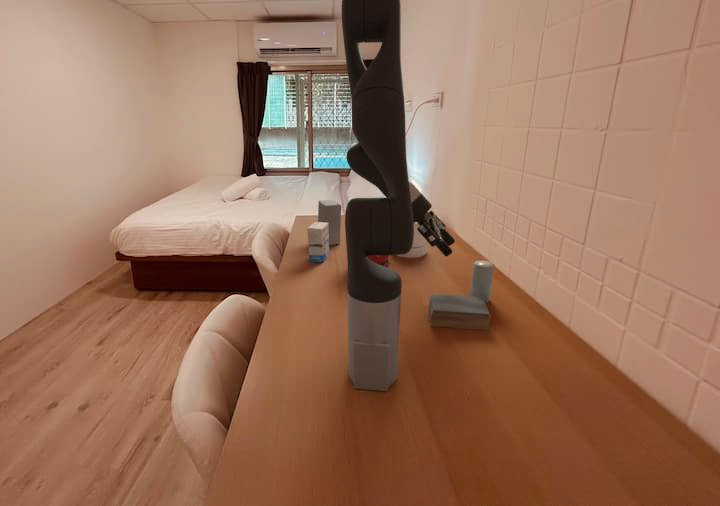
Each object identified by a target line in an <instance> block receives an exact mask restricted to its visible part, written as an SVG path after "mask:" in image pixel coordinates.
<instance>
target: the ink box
mask: <svg viewBox="0 0 720 506" xmlns="http://www.w3.org/2000/svg"><path fill="white" fill-rule="evenodd" d="M307 242H308V243H307V244H308V258H309V259H308V261H309V263H320V264H321V263H324V262H325V261H326V260H327V258H328V257H329V256H330V246H329V231H328V223H324V222H318V221H314V222H312V224H311V225H309V226H308V227H307Z"/></svg>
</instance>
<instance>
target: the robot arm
mask: <svg viewBox="0 0 720 506" xmlns="http://www.w3.org/2000/svg"><path fill="white" fill-rule="evenodd" d="M401 6H402V5H401V0H341V25H342V26H341V28H342V36H343V37H342V38H343V46H344V55H345V63H346V69H347V70H346V71H347V75H348V76H347V77H348V82H349V90H350V103H351V108H350V109H351V130H352V132H353V134H354V137H355V138H356V140H357V142H356V144H354V145H353V146H352V147H350V148H349V149H348V150H347V152H346V162H347V164H348V166H349V168H350V170H352V171H353V172H354V173H355V174H357V176H360V177H361V178H362V179H364V180H365V181H367V182H369V183H370V184H372V185H373V186H375V187H376V188H377V189H378V190H379V191H380V192H381V193H382V194H383V196H384V197H356V198H355V197H354V198H351V199H350V200H349V201H348V203H347V204H346V208H345V211H344V212H345V213H344V226H345V227H344V229H345V230H344V231H345V243H346V259H347V357H348V367H347V368H348V377H349V380H350V381H351V382H352V388H353V389H356V390H357V389H358V390H368V391H377V392H379V391H380V392H389V388H390V387H391V386H392V385H393V384H394V383H395V382H396V381H397V379H398V374H399V373H398V371H399V355H400V353H399V352H400V351H399V350H400V349H399V348H400V347H399V346H400V329H401V326H400V325H401V305H402V286H403V285H402V283H403V282H402V277H401V275H400V274H399V273H398V271H395V270H394V269H392V268H390V267H385V266H382V265H379V264H377V263H375V262H373V261H371V260H370V259H368V258H367V257H366V256H367V255H389V256H396V255H402V254H406V253H408V252H409V251H410V250H411V248H412V244H413V238H414V223H415V222H417V223H418V224H419V227H418V228H417V230H418V231H419V232H420V234H421V235H422V236H423V237H424V238H425V239H426V240H427V244H429V245H430V247H432V248H434V247H436V248H437V250H439V251H440V252H441V253H442V255H443V256H444V257H449V256H450V255H451V254H452V253H453V249H452V248H451V246H452V245H453V244H455V242H456V240H455V239H454V238H453V236H452V235H451V234H450V232H448V231H447V228H446V224H445V223H444V222H443V221H442V220H441V219H440V218H439V217H438V215H436V213H435V212H434V211H433V210H431V209H432V205H433V204H432V203H431V202H430V201H429V200H428V199H427V198H426V196H424V195H423V193H422V192H421V191H420V190H419V189H418V188H417V187H416V185H414V183H412V182H411V181H409V173H408V164H407V163H408V162H407V161H408V160H407V145H406V144H407V139H406V138H407V137H406V136H407V135H406V133H407V132H406V108H405V95H404V94H405V93H404V84H403V73H402V55H401V53H402V47H401V46H402V45H401V44H402V8H401ZM360 43H361V44H362V43H368V44H369V43H373V44H374V43H381V46H380V48H379V50H378V52H377V53H376V56H375V57H374V59H373V60H372V62H370V64H369V65H368V66H366V64H365V63H364V61H363V58H362V54H361V48H360Z"/></svg>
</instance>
